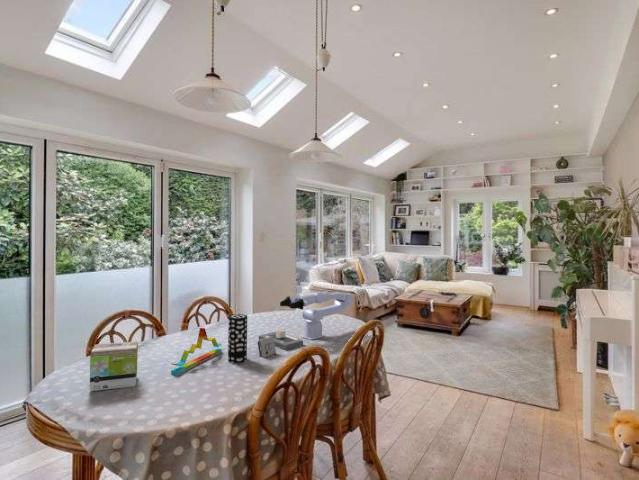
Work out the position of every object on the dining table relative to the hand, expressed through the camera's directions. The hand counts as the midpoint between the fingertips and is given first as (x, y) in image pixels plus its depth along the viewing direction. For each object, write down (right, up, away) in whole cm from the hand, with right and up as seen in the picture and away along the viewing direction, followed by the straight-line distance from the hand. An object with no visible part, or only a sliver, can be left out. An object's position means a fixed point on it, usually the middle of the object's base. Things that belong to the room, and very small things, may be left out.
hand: (285, 305), depth 190 cm
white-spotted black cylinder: (-20, -21, -23) cm, 37 cm away
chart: (-36, -21, -27) cm, 49 cm away
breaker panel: (-3, -20, +4) cm, 21 cm away
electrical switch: (-8, -21, -15) cm, 27 cm away
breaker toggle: (-3, -17, +4) cm, 18 cm away
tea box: (-60, -21, -51) cm, 81 cm away
